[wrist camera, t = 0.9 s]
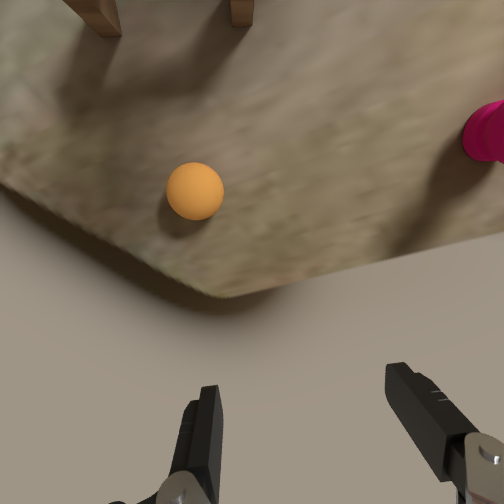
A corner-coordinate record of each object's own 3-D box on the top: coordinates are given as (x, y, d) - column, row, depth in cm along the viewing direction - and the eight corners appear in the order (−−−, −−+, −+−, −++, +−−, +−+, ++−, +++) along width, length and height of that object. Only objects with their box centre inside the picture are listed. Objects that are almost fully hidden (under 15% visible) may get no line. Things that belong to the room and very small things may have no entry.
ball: (169, 165, 30) (153, 164, 24) (222, 160, 30) (217, 159, 24) (178, 217, 32) (165, 227, 26) (227, 212, 32) (225, 222, 26)
